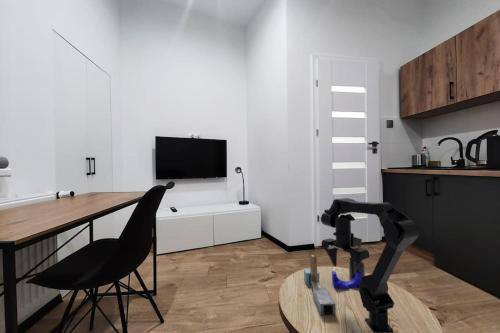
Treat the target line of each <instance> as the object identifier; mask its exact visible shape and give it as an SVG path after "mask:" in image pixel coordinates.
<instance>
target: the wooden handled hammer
mask: <svg viewBox="0 0 500 333" xmlns="http://www.w3.org/2000/svg"><path fill="white" fill-rule="evenodd" d="M317 260H318V256H317V254H315V253H314V254H309V269H310V276H309V281H310V283H311V284H310V285H311V287H312V289H313V288H322V286H321V285H320V282H319V283H318V281H317V270H318V261H317Z"/></svg>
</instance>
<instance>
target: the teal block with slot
mask: <svg viewBox="0 0 500 333" xmlns="http://www.w3.org/2000/svg"><path fill="white" fill-rule="evenodd" d="M309 276H310V268H303V279H304V282H305V284H306V285H311V283H310V281H309ZM317 281H318V283H319V284H320V272H319V270H318V269H317Z"/></svg>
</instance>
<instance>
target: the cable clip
mask: <svg viewBox="0 0 500 333" xmlns="http://www.w3.org/2000/svg"><path fill="white" fill-rule="evenodd" d="M360 282H361V274H360V272H356V275H355V277H354V278H353V279H352V280H351V281H350V280H348V281H346V280H345V281H344V280H342V279H340V278H339V277H338V274H337V272H336V271H335V270H332V271H331V284H332V287H333V289H335V290H349V288H350V289H351V288H353V289H359V287H360V285H359V284H360Z"/></svg>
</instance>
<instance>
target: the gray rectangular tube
mask: <svg viewBox="0 0 500 333" xmlns="http://www.w3.org/2000/svg"><path fill="white" fill-rule="evenodd" d="M312 299H313V301H314V303H315V306H316V308H317V311H318V313H319V315H320V316H321V317H323V316H324V317H326V316H327V317H328V316H332V317H333V316H336V315H337V314H336V313H337V312H336V309H337V308H336V302H335V301H334V299H333V297H332V296H331V293H330V292H329V291H328V289H327V287H321V288H313V287H312Z"/></svg>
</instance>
